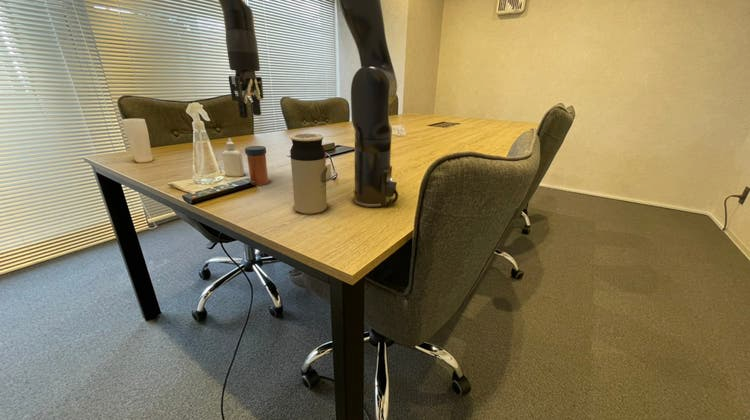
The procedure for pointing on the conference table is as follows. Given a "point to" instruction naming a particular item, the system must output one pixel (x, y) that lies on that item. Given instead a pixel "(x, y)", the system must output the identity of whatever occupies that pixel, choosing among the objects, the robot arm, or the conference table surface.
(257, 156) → the jar
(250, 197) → the conference table surface
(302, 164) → the travel mug
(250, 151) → the lid
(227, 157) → the eye dropper bottle
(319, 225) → the conference table surface
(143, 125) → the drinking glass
